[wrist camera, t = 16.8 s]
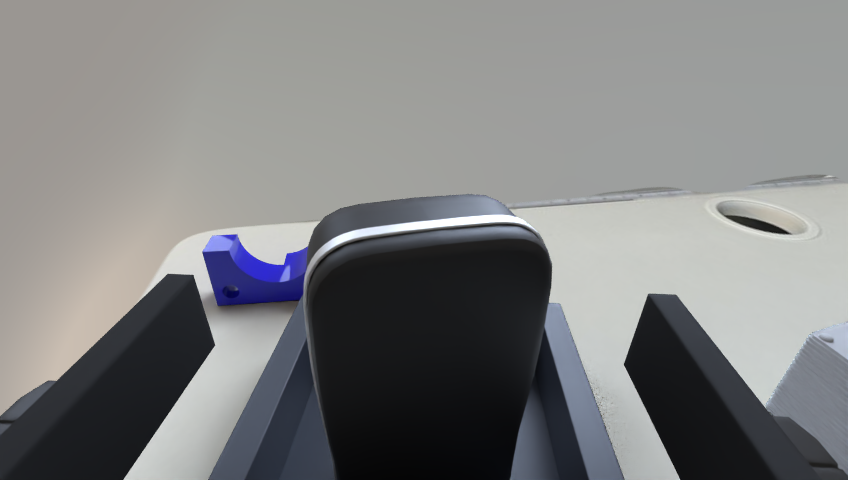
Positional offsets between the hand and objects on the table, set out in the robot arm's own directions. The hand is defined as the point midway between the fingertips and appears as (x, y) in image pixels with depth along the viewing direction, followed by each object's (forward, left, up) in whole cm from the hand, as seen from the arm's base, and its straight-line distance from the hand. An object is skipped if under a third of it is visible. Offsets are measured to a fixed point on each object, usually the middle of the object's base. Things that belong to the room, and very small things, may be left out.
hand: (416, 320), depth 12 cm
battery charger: (0, +1, -8) cm, 8 cm away
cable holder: (-10, +13, -9) cm, 19 cm away
